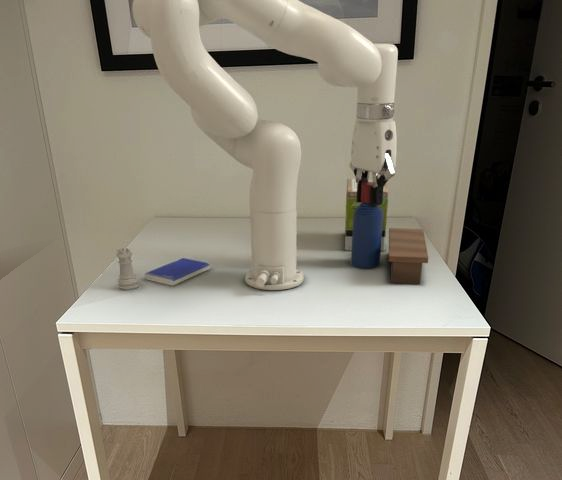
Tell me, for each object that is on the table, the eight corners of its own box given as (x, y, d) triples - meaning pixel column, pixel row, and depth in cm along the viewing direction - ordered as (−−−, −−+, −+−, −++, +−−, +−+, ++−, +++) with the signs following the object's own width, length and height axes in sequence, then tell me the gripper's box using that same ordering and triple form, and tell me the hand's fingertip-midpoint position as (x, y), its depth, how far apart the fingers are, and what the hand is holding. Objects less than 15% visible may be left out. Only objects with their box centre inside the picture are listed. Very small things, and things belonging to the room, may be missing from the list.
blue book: (173, 279, 123) (209, 263, 132) (144, 272, 126) (182, 257, 136) (173, 286, 123) (210, 269, 132) (145, 279, 127) (182, 263, 136)
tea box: (344, 234, 157) (346, 177, 150) (381, 234, 156) (386, 177, 149) (344, 251, 144) (346, 189, 136) (385, 251, 143) (390, 190, 136)
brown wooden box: (425, 286, 122) (428, 257, 119) (386, 284, 123) (388, 256, 120) (420, 254, 141) (423, 229, 138) (387, 253, 142) (389, 227, 139)
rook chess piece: (144, 285, 124) (139, 249, 120) (128, 292, 121) (122, 254, 117) (129, 281, 126) (124, 245, 122) (113, 288, 123) (107, 251, 119)
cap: (359, 198, 130) (360, 182, 128) (376, 198, 130) (377, 181, 128) (362, 202, 126) (363, 185, 125) (379, 202, 126) (380, 185, 125)
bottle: (379, 269, 132) (385, 189, 123) (350, 267, 133) (354, 189, 124) (379, 260, 137) (385, 183, 129) (351, 258, 138) (355, 183, 130)
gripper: (416, 114, 115) (407, 208, 124) (363, 108, 127) (358, 194, 136) (387, 117, 111) (380, 213, 120) (336, 110, 124) (333, 198, 133)
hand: (369, 202), depth 128 cm, fingers closed on cap, 3 cm apart
